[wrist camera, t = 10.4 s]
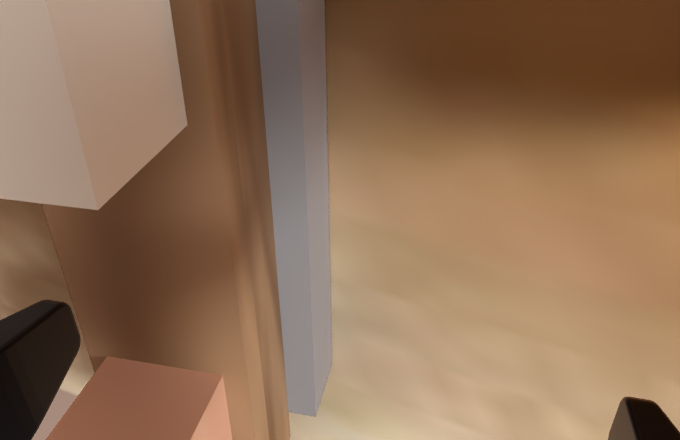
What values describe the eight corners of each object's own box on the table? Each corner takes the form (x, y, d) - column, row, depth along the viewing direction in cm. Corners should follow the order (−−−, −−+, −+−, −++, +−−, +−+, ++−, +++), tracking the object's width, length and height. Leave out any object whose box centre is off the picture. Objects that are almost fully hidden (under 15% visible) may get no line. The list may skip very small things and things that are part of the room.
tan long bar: (235, -246, 13) (164, -267, 10) (290, 436, 26) (264, 512, 23) (15, -237, 14) (-104, -255, 11) (170, 415, 27) (130, 485, 24)
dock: (321, -167, 16) (290, -167, 14) (332, 363, 27) (315, 416, 25) (57, -164, 18) (-13, -164, 15) (166, 338, 29) (135, 386, 26)
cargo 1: (161, -57, 12) (40, -17, 9) (187, 125, 15) (98, 210, 11) (-10, -62, 13) (-179, -27, 10) (39, 111, 15) (-86, 188, 12)
